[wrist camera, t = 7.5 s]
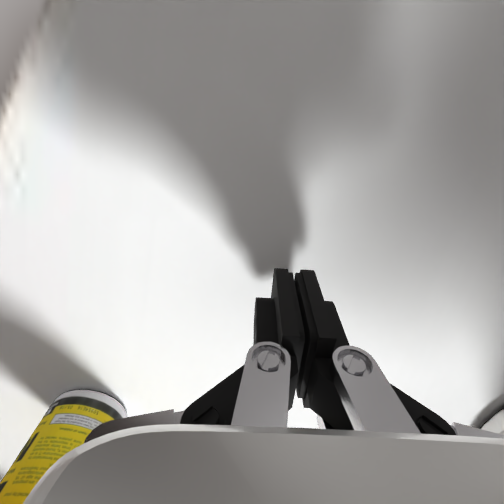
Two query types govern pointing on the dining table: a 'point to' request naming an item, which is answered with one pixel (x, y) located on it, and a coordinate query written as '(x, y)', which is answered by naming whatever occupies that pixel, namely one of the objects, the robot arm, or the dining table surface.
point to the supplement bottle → (57, 439)
